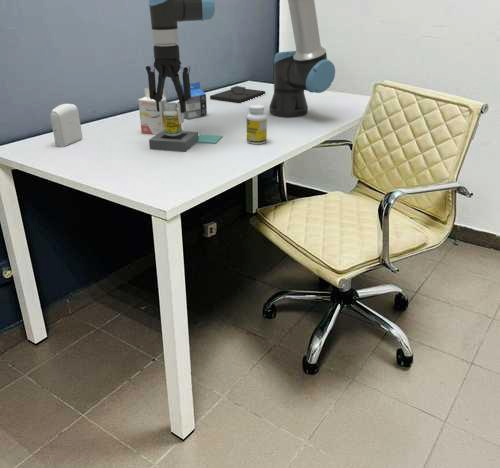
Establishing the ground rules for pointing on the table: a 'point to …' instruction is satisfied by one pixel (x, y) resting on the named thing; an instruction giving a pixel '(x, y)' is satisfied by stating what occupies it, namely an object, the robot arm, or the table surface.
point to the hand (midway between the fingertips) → (172, 122)
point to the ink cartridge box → (150, 114)
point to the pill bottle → (256, 125)
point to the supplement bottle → (171, 120)
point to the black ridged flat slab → (237, 95)
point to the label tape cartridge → (195, 102)
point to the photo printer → (66, 124)
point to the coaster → (208, 139)
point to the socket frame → (174, 141)
